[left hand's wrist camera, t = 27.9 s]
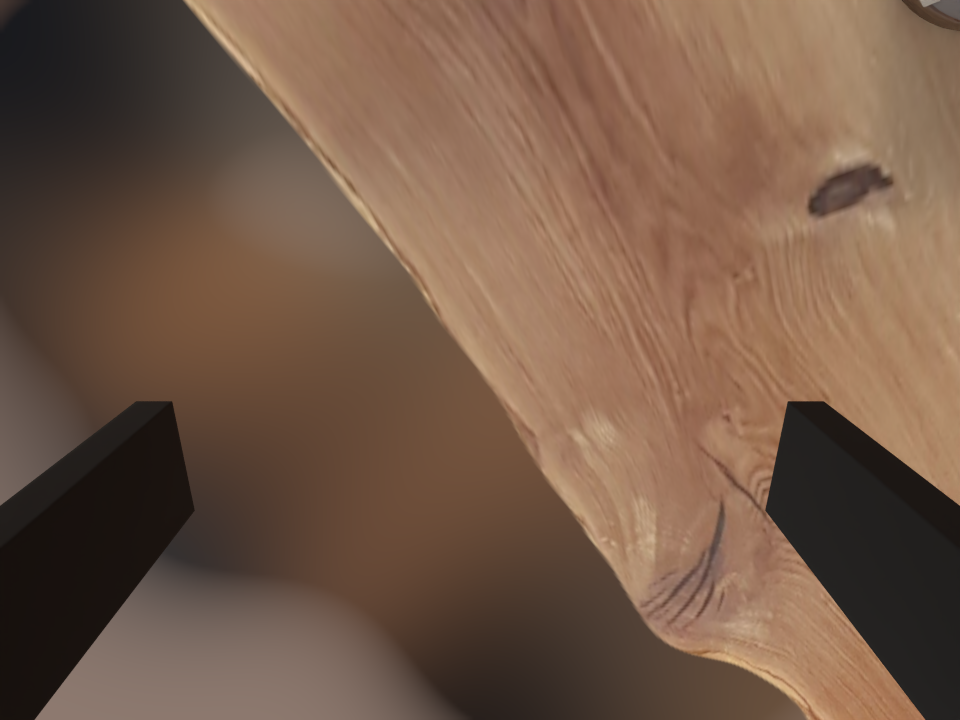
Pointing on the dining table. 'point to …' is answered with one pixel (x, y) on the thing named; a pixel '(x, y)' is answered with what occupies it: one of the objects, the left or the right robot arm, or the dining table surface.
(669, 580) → the dining table surface
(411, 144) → the dining table surface
